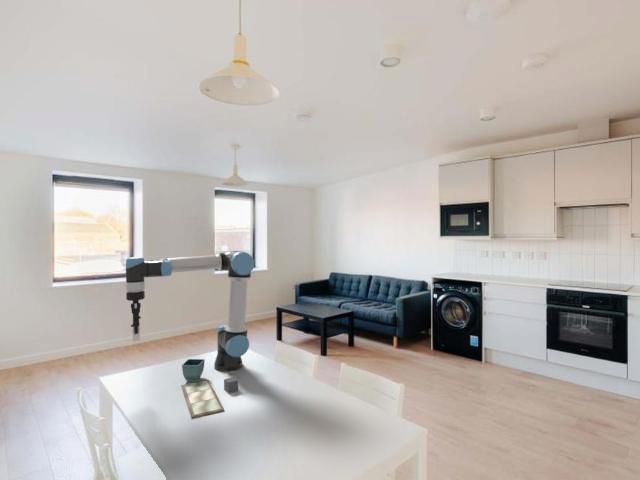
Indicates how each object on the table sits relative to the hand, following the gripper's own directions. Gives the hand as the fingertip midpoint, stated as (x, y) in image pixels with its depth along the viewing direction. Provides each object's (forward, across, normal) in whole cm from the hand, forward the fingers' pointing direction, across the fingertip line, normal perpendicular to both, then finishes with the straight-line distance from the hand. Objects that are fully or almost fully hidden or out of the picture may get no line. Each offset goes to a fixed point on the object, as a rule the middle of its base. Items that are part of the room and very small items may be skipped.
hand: (136, 336), depth 167 cm
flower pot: (+27, -5, +26) cm, 37 cm away
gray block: (+27, +16, +40) cm, 50 cm away
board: (+27, +18, +26) cm, 41 cm away
